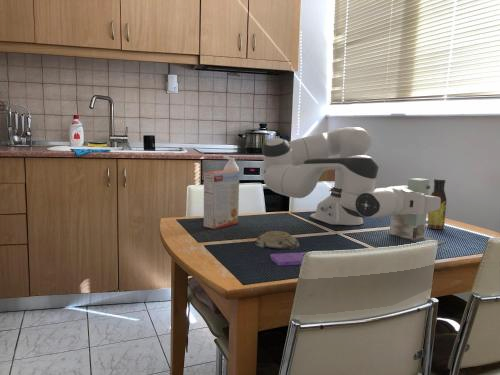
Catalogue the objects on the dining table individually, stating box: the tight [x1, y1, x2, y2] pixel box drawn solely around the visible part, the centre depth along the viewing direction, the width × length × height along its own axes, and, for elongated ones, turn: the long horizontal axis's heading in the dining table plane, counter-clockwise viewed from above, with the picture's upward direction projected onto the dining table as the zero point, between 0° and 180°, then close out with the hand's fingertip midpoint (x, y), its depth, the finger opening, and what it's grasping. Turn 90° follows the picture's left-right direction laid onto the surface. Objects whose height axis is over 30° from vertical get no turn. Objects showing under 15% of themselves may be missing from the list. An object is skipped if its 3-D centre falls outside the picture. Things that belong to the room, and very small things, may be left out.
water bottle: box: [222, 155, 240, 172], centre depth 178 cm, size 9×6×25 cm
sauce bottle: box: [427, 178, 448, 231], centre depth 171 cm, size 7×6×20 cm
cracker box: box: [203, 169, 240, 230], centre depth 162 cm, size 14×6×21 cm, turn 141°
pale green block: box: [405, 177, 431, 226], centre depth 141 cm, size 5×6×15 cm
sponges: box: [269, 251, 308, 266], centre depth 124 cm, size 7×13×2 cm, turn 106°
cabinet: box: [389, 184, 447, 246], centre depth 153 cm, size 18×10×18 cm, turn 40°
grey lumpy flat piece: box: [254, 230, 300, 251], centre depth 142 cm, size 15×4×15 cm
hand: (418, 197), depth 142 cm, fingers closed on pale green block, 4 cm apart
